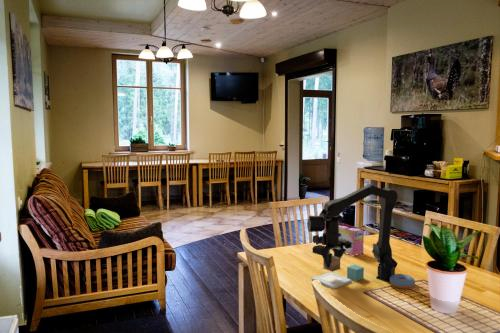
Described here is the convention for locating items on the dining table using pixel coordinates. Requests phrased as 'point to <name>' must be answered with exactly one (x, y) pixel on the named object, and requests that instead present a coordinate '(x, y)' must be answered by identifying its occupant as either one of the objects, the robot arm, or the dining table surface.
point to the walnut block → (333, 264)
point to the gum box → (352, 238)
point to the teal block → (355, 272)
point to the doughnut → (402, 281)
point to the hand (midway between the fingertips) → (331, 266)
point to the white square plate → (332, 280)
